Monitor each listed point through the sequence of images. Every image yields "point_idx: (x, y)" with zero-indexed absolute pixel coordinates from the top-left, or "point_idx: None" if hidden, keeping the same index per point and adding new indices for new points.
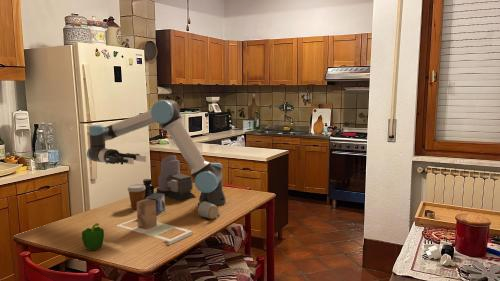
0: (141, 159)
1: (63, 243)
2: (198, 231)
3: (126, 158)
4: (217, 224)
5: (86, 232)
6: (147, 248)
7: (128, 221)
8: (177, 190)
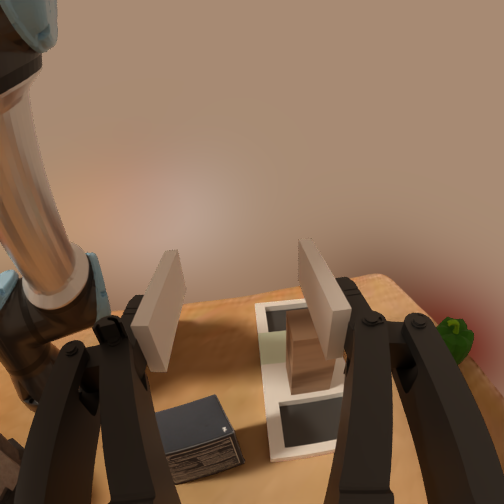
0: (175, 300)
1: (492, 412)
2: (237, 310)
3: (334, 282)
4: (185, 309)
5: (466, 329)
6: None
7: (324, 448)
8: (16, 463)
